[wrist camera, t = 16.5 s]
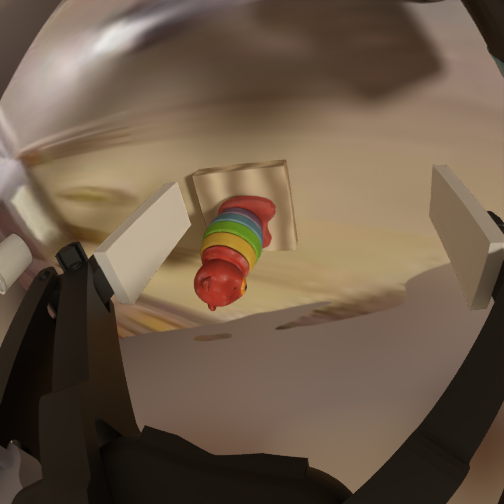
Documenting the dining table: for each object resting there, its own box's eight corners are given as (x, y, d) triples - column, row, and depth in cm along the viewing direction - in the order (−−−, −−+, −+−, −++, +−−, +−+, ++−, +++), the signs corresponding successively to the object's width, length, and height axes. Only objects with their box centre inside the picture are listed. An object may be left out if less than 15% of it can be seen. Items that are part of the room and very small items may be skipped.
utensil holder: (39, 266, 88) (9, 297, 75) (21, 264, 92) (-6, 292, 79) (21, 231, 80) (-12, 261, 66) (5, 232, 84) (-25, 260, 70)
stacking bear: (270, 246, 55) (246, 329, 43) (217, 235, 57) (182, 312, 45) (277, 199, 48) (251, 285, 36) (217, 187, 49) (172, 266, 37)
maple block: (286, 158, 49) (283, 166, 46) (297, 238, 58) (295, 250, 55) (200, 168, 54) (192, 176, 51) (220, 240, 62) (214, 252, 59)
